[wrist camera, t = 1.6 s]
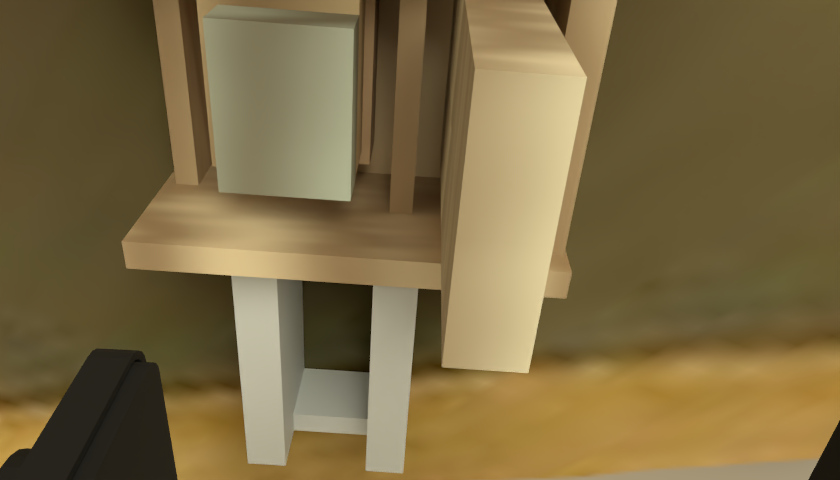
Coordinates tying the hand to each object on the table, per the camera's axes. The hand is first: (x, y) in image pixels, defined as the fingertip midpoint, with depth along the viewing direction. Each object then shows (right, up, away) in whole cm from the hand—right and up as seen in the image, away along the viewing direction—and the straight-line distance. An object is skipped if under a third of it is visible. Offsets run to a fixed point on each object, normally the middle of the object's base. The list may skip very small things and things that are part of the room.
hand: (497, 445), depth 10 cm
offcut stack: (-5, +10, +15) cm, 18 cm away
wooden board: (+1, +9, +15) cm, 17 cm away
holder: (-5, 0, +22) cm, 22 cm away
